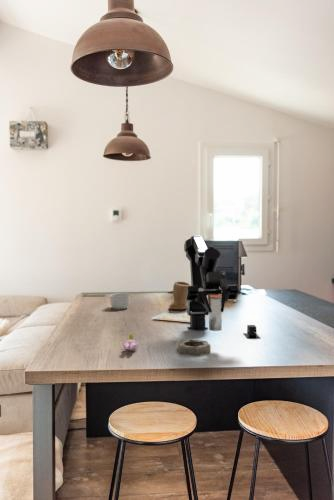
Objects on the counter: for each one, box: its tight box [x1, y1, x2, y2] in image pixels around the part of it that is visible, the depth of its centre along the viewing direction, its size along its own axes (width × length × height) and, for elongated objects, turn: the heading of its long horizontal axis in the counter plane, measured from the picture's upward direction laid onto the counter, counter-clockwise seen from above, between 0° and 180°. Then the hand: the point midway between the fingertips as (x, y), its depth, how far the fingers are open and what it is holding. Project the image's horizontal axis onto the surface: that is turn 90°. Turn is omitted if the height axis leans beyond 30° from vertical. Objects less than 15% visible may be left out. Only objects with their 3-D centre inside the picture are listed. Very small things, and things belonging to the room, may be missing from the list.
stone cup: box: [168, 280, 192, 310], centre depth 238 cm, size 15×12×15 cm
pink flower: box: [122, 333, 141, 352], centre depth 153 cm, size 6×6×15 cm
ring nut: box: [177, 339, 211, 356], centre depth 151 cm, size 11×12×2 cm
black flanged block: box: [242, 324, 262, 340], centre depth 173 cm, size 12×7×5 cm, turn 0°
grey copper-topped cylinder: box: [208, 294, 223, 332], centre depth 153 cm, size 5×5×12 cm
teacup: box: [109, 292, 131, 311], centre depth 240 cm, size 14×11×8 cm
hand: (216, 311), depth 151 cm, fingers closed on grey copper-topped cylinder, 4 cm apart
